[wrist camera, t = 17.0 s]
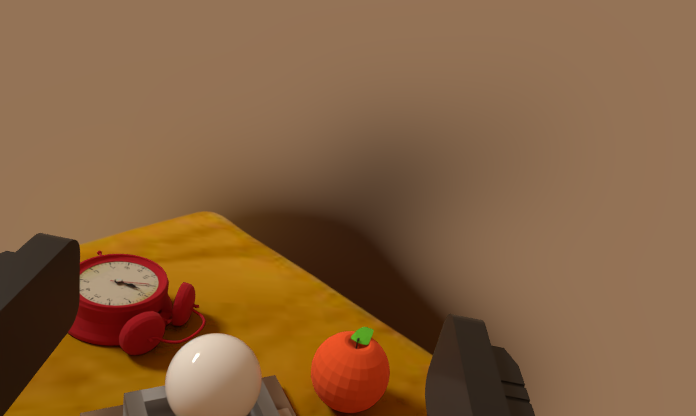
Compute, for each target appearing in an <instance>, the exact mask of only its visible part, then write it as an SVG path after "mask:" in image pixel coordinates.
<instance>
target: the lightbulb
mask: <svg viewBox="0 0 696 416" xmlns="http://www.w3.org/2000/svg"><path fill="white" fill-rule="evenodd" d="M261 383H262V376H261V369H260V365H259V362H258V360H257V357H256V356H255V354H254V352H253V351H252V350H251V349H250V347H249V346H248V345H246V344H245V343H244V342H243V341H241V340H240V339H238V338H236V337H234V336H231V335H227V334H221V333H212V334H206V335H202V336H199V337H197V338H194V339H193V340H191V341H189V342H188V343H186V344H185V345H184V346H183V347H182V348H181V349H180V350H179V351H178V352H177V353H176V354H175V356H174V357H173V359H172V361H171V363H170V365H169V367H168V370H167V374H166V379H165V392H166V397H167V401H168V403H169V406H170V408H171V410H172V411H173V413H174V414H175V415H176V416H247V415H248V414H249V413H250V411H251V410H252V409H253V407H254V405H255V404H256V402H257V399H258V397H259V394H260V390H261Z"/></svg>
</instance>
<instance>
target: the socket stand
mask: <svg viewBox="0 0 696 416" xmlns="http://www.w3.org/2000/svg"><path fill="white" fill-rule="evenodd" d="M80 416H176V415H175V414H174V413H173V411H172V410H171V408H170V406H169V403H168V401H167V397H166V392H165V386H161V387H155V388H150V389H145V390H139V391H134V392H128V393H124V405H120V406H115V407H110V408H105V409H100V410H95V411H90V412H84V413H80ZM247 416H296V414H295V412H294V410H293V409H292V407H291V405H290V403H289V401H288V399H287V397H286V395H285V393H284V391H283V389H282V388H281V386H280V384H279V382H278V380H277V378H276V376H275V375H274V376H269V377H264V378H262V383H261V390H260V394H259V397H258V399H257V402H256V404H255V405H254V407H253V409H252V410H251V411H250V413H249V414H248V415H247Z"/></svg>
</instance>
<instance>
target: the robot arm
mask: <svg viewBox="0 0 696 416" xmlns="http://www.w3.org/2000/svg"><path fill="white" fill-rule="evenodd" d="M79 302H80V247H79V243H78V242H77V241H76V240H73V239H68V238H63V237H57V236H53V235H48V234H43V233H39V234H36V235H35V236H34V237H33V238H31V239H30V240H29V241H28V242H27V243H26V244H25V245H23V246H22V247H21V248H20V249H19V250H18V251H16V252H10V251H5V252H3V253H0V416H3V415H4V414H5V413H6V411H7V410H8V409H9V407H10V406H11V405H12V404H13V402H14V401H15V400H16V398H17V397H18V396H19V395H20V393H21V392H22V391H23V389H24V388H25V387H26V386H27V384H28V383H29V382H30V380H31V379H32V378H33V377H34V375H35V374H36V373H37V371H38V370H39V369H40V368H41V366H42V365H43V364H44V362H45V361H46V360H47V359H48V357H49V356H50V355H51V353H52V352H53V351H54V349H55V348H56V347H57V346H58V344H59V343H60V342H61V340H62V339H63V338H64V337H65V335H66V334H67V333H68V331H69V330H70V329H71V327H72V325H73V323H74V321H75V319H76V316H77V313H78V308H79ZM524 385H525V384H524V381H523V378H522V375H521V372H520V369H519V366H518V365H517V364H516V362H515V361H514V360H513V359H512V357H511V356H510V355H509V354H508V353H507V351H506V350H505V349H504V348H501V347H496V346H491V344H490V340H489V337H488V333H487V330H486V326H485V323H484V322H483V321H482V320H478V319H473V318H468V317H463V316H457V315H452V314H449V315H448V316H447V317H446V319H445V322H444V324H443V327H442V331H441V333H440V336H439V339H438V343H437V345H436V348H435V352H434V355H433V357H432V360H431V363H430V366H429V369H428V374H427V379H426V387H425V399H426V409H427V416H535V414H534V411H533V408H532V405H531V404H530V403H529V402H530V399H529V396H528V393H527V390H526V388H524Z"/></svg>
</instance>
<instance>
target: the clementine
mask: <svg viewBox="0 0 696 416" xmlns="http://www.w3.org/2000/svg"><path fill="white" fill-rule="evenodd" d="M372 334H373V329H370V328H368V327H362V328H360V329H358V330H357V331H356V332H353V331H345V332H340V333H337V334H335V335H333V336H331V337H329V338H328V339H327V340H325V341H324V342H323V343H322V344H321V346H320V347H319V348H318V349H317V351H316V353H315V356H314V358H313V361H312V368H311V379H312V382H313V386H314V389H315V391H316V393H317V395H318V396H319V397H320V399H321V400H322V401H323V402H324V403H325V404H326V405H327V406H329V407H330V408H332V409H334V410H337V411H339V412H344V413H356V412H360V411H363V410H366V409H368V408H370V407H372V406H373V405H374V404H375V403H376V402H377V401H379V399H380V398H381V397H382V396H383V394H384V392H385V390H386V388H387V385H388V382H389V375H390V371H389V363H388V359H387V356H386V354H385V352H384V351H383V349H382V347H381V346H380V345H379V344H378V342H376V341H375V340H374V339H373V338H371V337H372Z"/></svg>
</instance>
